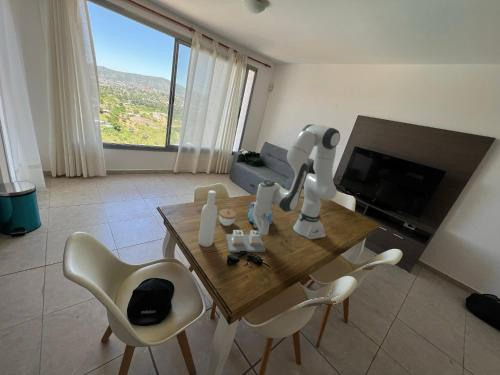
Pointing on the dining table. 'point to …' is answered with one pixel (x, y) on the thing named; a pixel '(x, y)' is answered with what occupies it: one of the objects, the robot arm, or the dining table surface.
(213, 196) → the bottle
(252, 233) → the sleeve
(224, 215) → the lidded jar
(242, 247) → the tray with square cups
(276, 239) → the dining table surface
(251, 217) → the decorative pot
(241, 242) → the seated sleeve
